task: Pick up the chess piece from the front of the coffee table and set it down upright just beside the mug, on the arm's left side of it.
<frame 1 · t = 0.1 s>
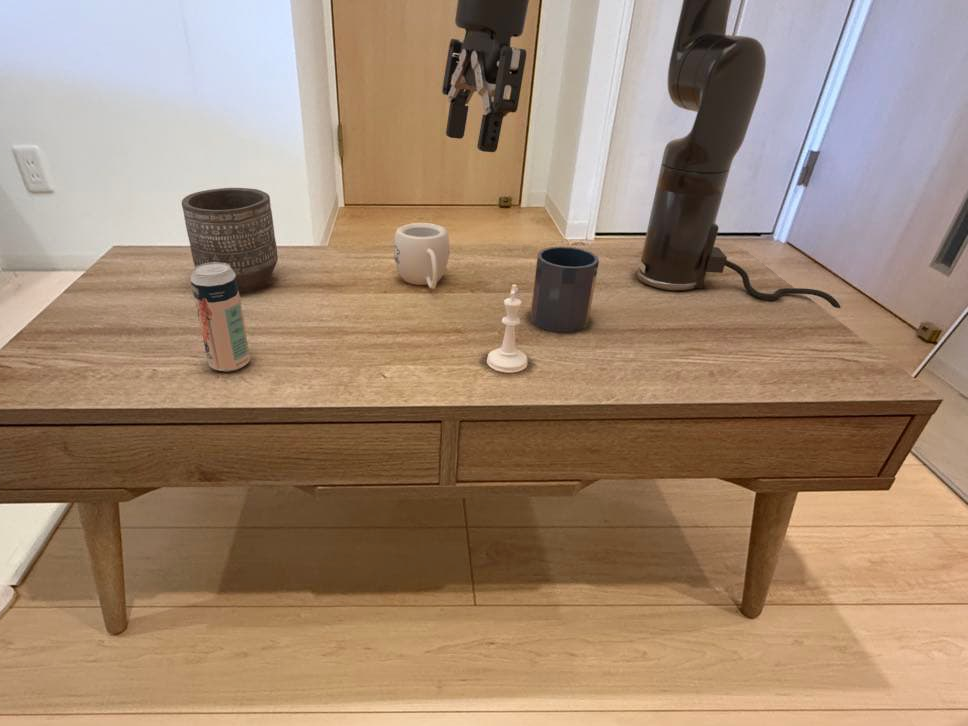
hand: (469, 144, 73), 22 cm above the table, tool pointing down, fingers open, 8 cm apart
planter: (240, 284, 94), on the table
mug: (424, 284, 94), on the table
chess piece: (506, 363, 74), on the table
slate cup: (558, 319, 84), on the table
beer can: (230, 365, 73), on the table
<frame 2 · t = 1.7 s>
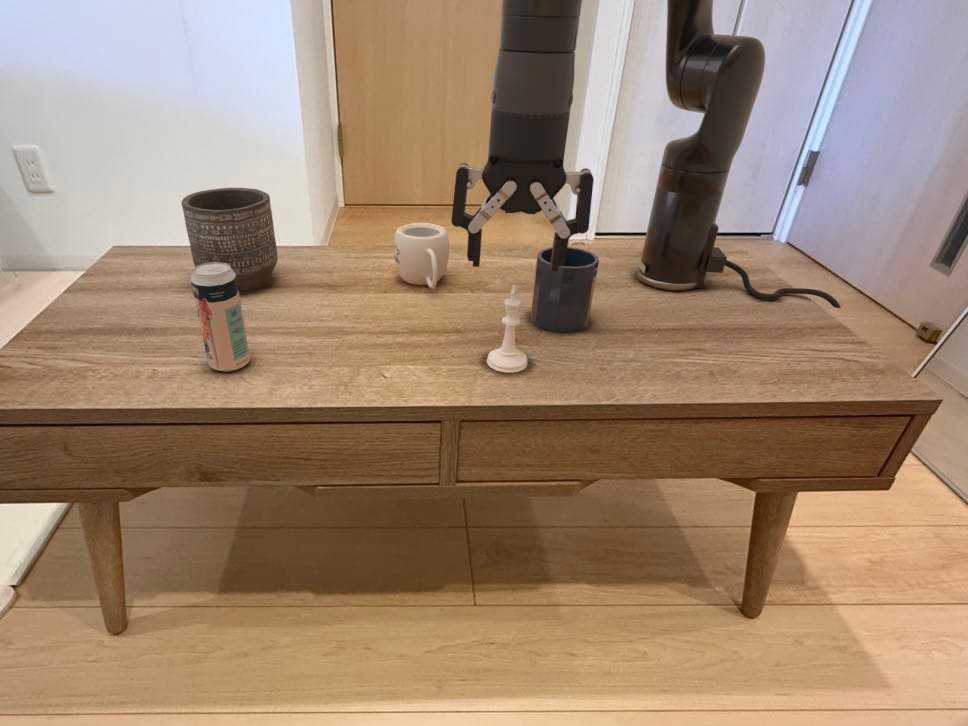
hand: (514, 266, 67), 12 cm above the table, tool pointing down, fingers open, 8 cm apart
nothing on the table moved.
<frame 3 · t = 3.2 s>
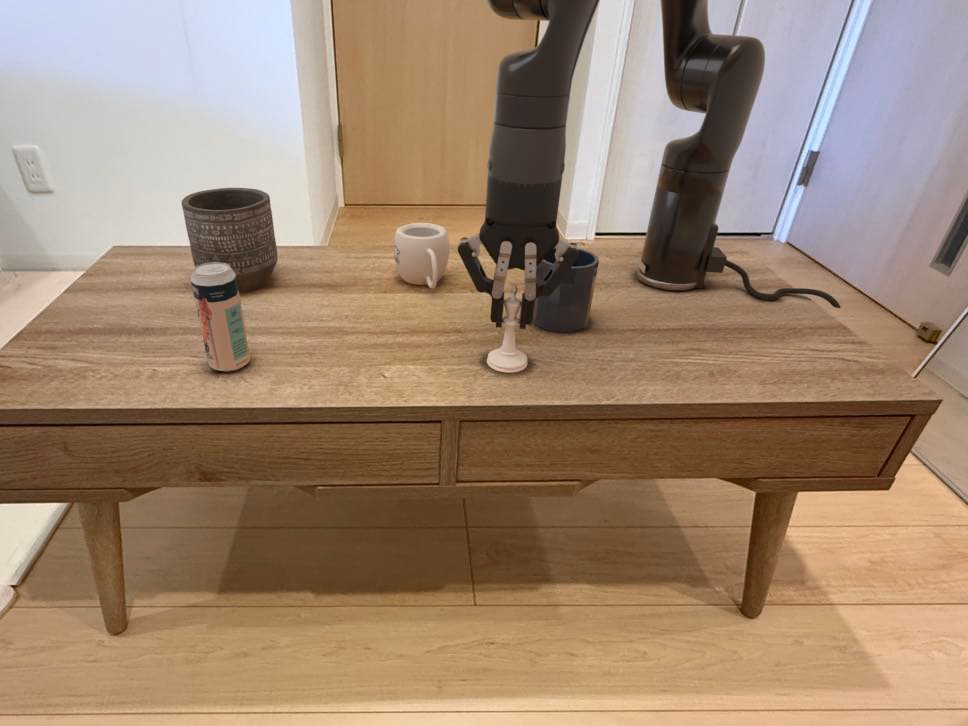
hand: (510, 324, 71), 5 cm above the table, tool pointing down, fingers closed on chess piece
chess piece: (506, 363, 74), on the table, touching gripper
everything else where it was.
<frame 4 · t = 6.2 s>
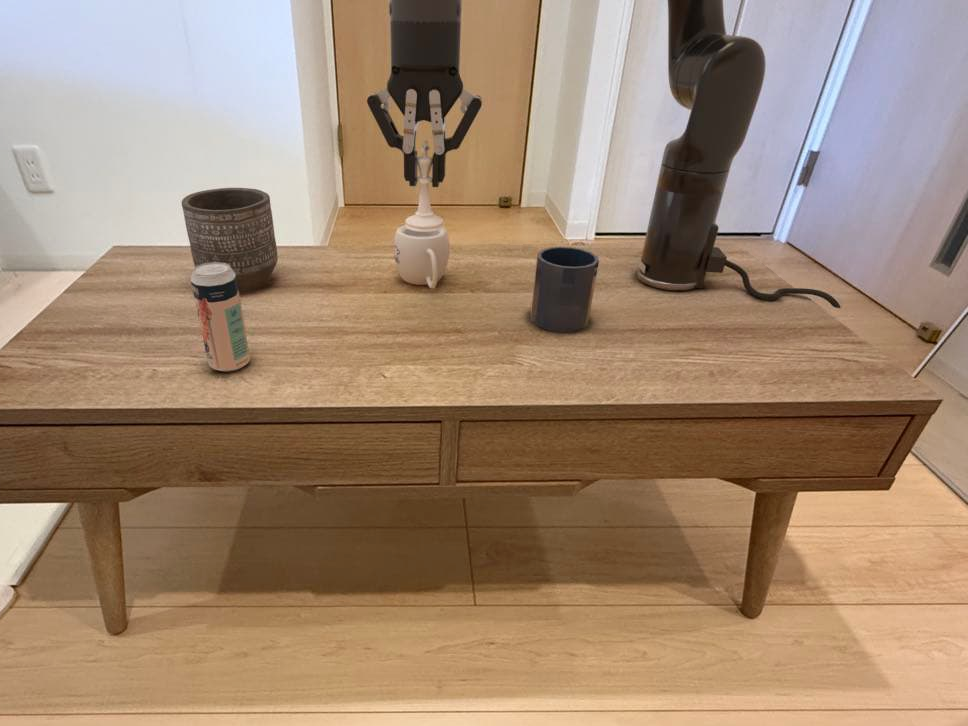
hand: (424, 184, 74), 18 cm above the table, tool pointing down, fingers closed on chess piece
chess piece: (424, 227, 77), point 13 cm above the table, touching gripper
everything else where it was.
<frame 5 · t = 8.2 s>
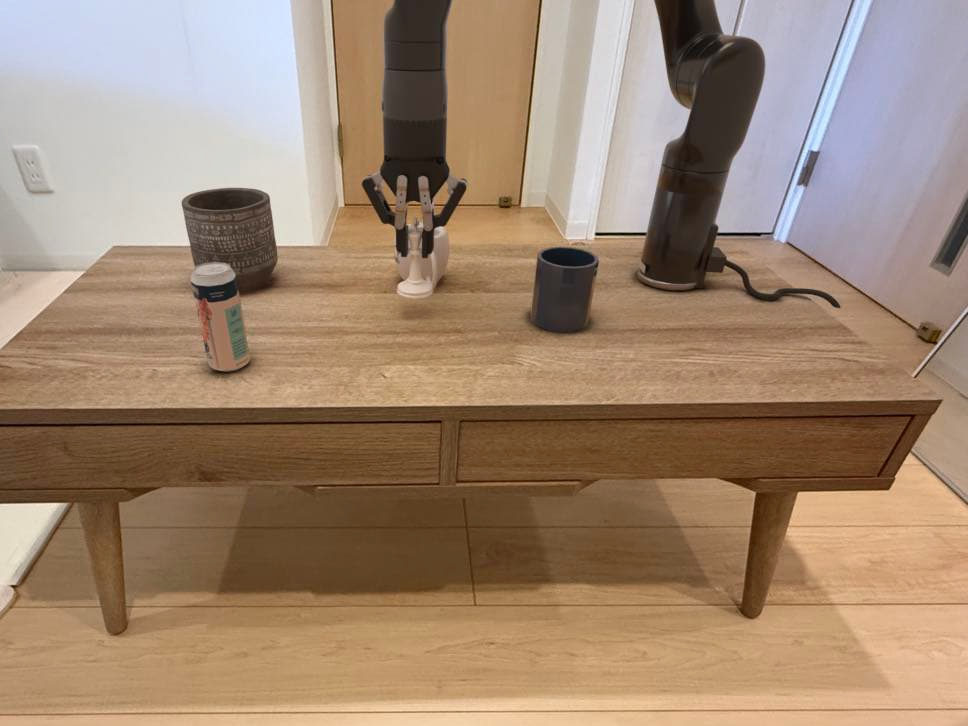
hand: (414, 255, 81), 8 cm above the table, tool pointing down, fingers closed on chess piece
chess piece: (415, 292, 84), point 3 cm above the table, touching gripper
everything else where it was.
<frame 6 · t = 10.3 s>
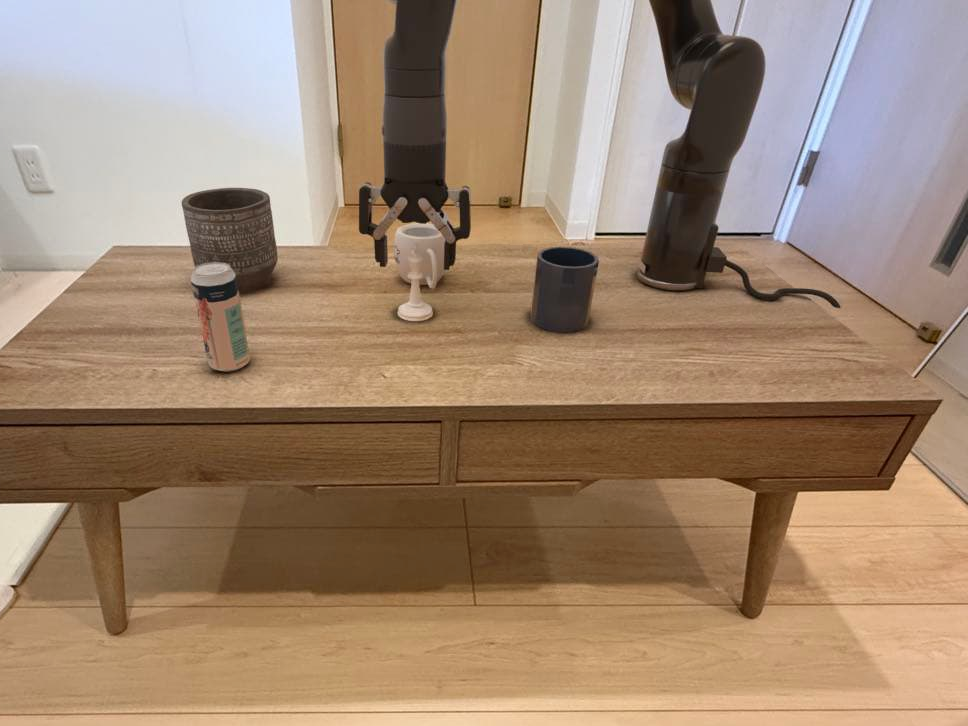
hand: (415, 266, 81), 7 cm above the table, tool pointing down, fingers open, 8 cm apart
chess piece: (415, 314, 85), on the table
everything else where it was.
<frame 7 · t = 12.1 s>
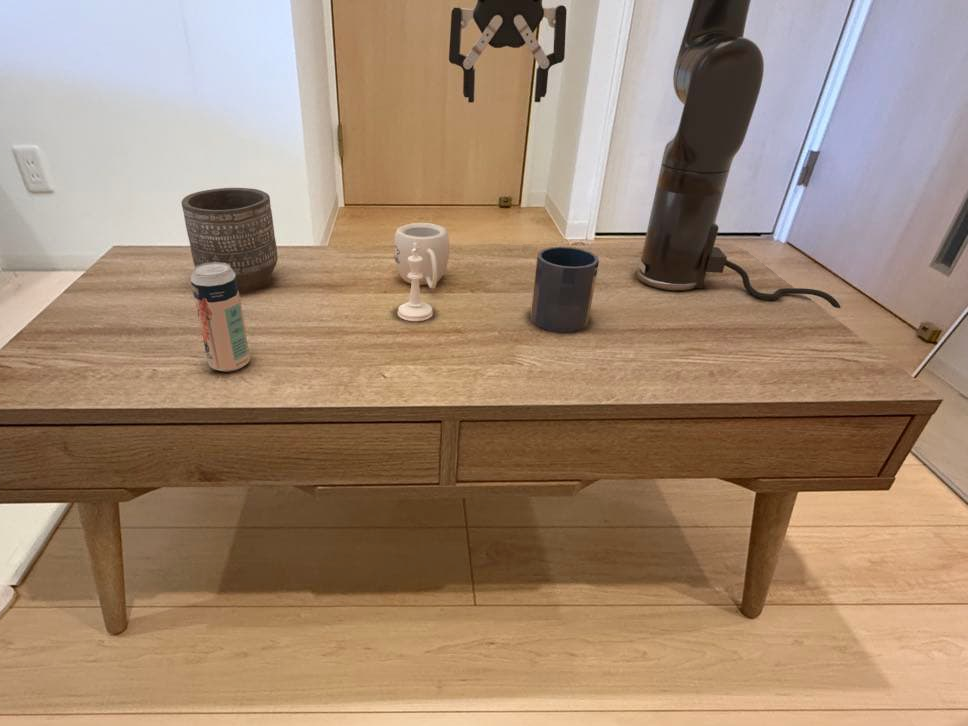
hand: (503, 101, 79), 26 cm above the table, tool pointing down, fingers open, 8 cm apart
nothing on the table moved.
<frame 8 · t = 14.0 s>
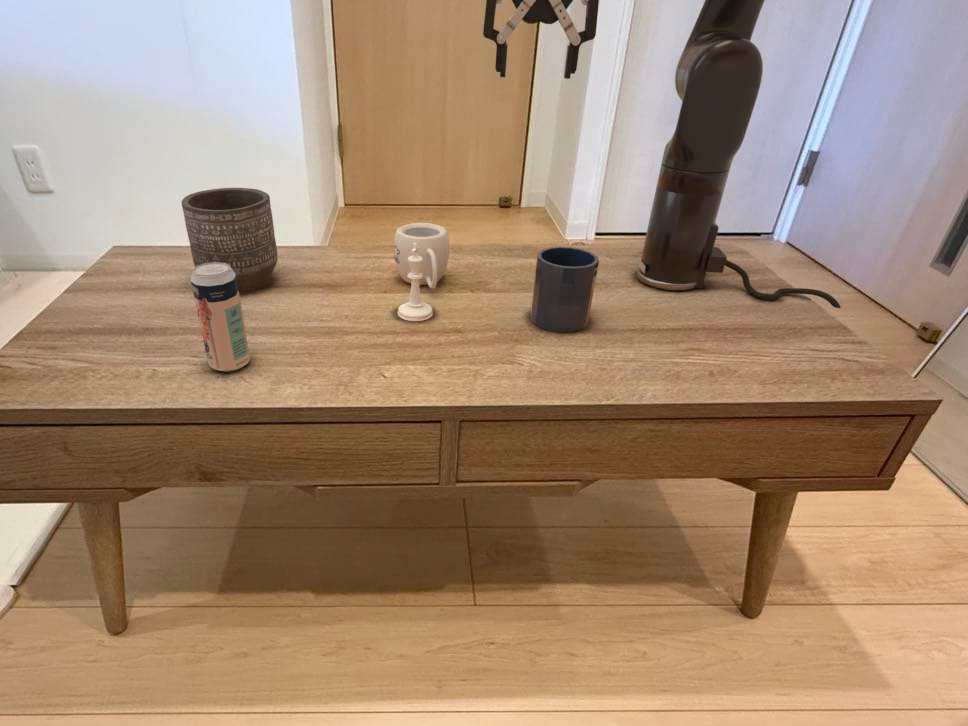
hand: (534, 77, 82), 28 cm above the table, tool pointing down, fingers open, 8 cm apart
nothing on the table moved.
at the end: chess piece inside the target area on the table beside the mug (0.3 cm from its centre), on the table; chess piece tilted 0°; mug moved 0.2 cm from its start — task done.
